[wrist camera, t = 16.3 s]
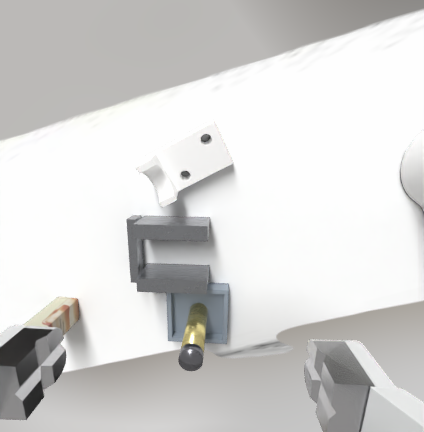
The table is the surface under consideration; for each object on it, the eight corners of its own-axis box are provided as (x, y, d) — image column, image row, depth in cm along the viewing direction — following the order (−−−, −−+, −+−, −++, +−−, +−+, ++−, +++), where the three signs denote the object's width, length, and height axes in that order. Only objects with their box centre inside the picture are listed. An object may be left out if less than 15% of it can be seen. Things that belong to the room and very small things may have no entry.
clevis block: (209, 217, 43) (207, 226, 37) (208, 277, 46) (206, 294, 40) (133, 215, 43) (119, 223, 38) (136, 274, 46) (124, 291, 40)
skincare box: (80, 319, 49) (44, 358, 39) (59, 317, 49) (19, 355, 39) (78, 297, 48) (41, 332, 38) (57, 295, 48) (15, 329, 38)
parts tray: (228, 283, 46) (228, 290, 43) (226, 334, 48) (226, 343, 46) (169, 281, 46) (166, 288, 44) (170, 332, 49) (168, 340, 46)
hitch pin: (207, 303, 46) (202, 351, 34) (207, 319, 47) (202, 371, 35) (189, 302, 46) (178, 350, 34) (189, 318, 47) (178, 370, 35)
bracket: (167, 190, 43) (162, 207, 36) (145, 156, 40) (135, 167, 33) (230, 158, 41) (238, 169, 35) (212, 119, 38) (217, 123, 32)
